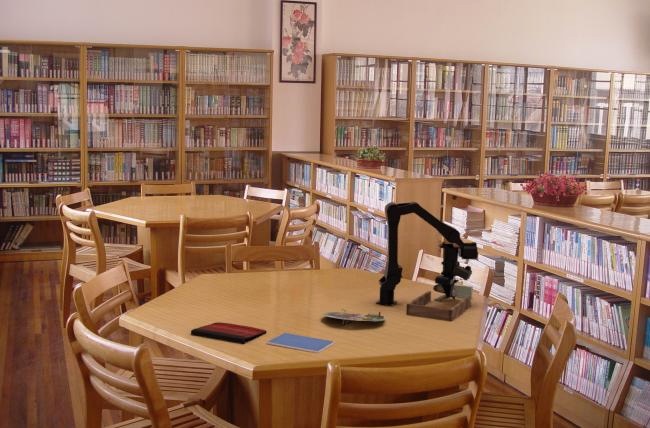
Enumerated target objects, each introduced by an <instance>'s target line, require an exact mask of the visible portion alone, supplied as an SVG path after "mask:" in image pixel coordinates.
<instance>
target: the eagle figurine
mask: <svg viewBox="0 0 650 428" xmlns="http://www.w3.org/2000/svg"><path fill="white" fill-rule="evenodd" d="M432 289H433V290H434V292H437V293H440V294H442V295H440V296H438V297H437V298H435V299H433V301H434V302H442V301H444V300H448V299H450V298H452V299H453V300H454V301H456V297H455V296H457V295H456V294H457V292H458V291H457V290H456V289H455V288H454V290H452V294H451V297H450V298H447V297H446V294H445V292H444V289H443V287H442V285H441V284H436V283H435V284H434V285H433V288H432Z"/></svg>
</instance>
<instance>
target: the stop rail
mask: <svg viewBox="0 0 650 428" xmlns="http://www.w3.org/2000/svg"><path fill="white" fill-rule="evenodd" d="M454 288H455V289H456V290H457V291H458V292H457V294H456V295H457V296H455V298H461V299H465V298H466V297H468V296H471V300H472V299H473V289H474V288H473V285H466V284H457V283H455V284H454V287H453V290H454Z"/></svg>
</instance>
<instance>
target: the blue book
mask: <svg viewBox="0 0 650 428" xmlns="http://www.w3.org/2000/svg"><path fill="white" fill-rule="evenodd" d="M266 344H267V345H270V346H276V347H281V348H288V349H293V350H299V351H303V352H309V353H312V354H321V353H322V352H324V351H325V350H327V349H329V348H331V347H332V346H334V345H335V344H336V342H335V341H334V340H329V339H323V338H316V337H312V336H311V337H310V336H306V335H300V334H294V333H290V332H289V333H287V332H283V333H282V334H280V335H278V336H276V337H274V338H272V339H269V340H268V341H266Z"/></svg>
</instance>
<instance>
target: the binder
mask: <svg viewBox="0 0 650 428" xmlns="http://www.w3.org/2000/svg"><path fill="white" fill-rule="evenodd" d="M266 334H267V330H266V329H262V328H257V327H252V326H247V325H241V324H235V323H230V322H213V323H210V324H206V325H203V326H200V327H197V328H194V329H193V328H192V329H191V330H190V335H191V336H195V337H202V338H207V339H212V340H213V339H214V340H219V341H224V342H229V343H235V344H241V345H245V344H246V343H245V342H247V341H249V342H252V341H254V340H256V339H258V338H260V337H263V336H264V335H266Z"/></svg>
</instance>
